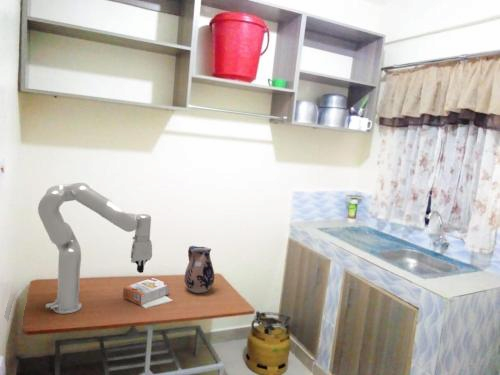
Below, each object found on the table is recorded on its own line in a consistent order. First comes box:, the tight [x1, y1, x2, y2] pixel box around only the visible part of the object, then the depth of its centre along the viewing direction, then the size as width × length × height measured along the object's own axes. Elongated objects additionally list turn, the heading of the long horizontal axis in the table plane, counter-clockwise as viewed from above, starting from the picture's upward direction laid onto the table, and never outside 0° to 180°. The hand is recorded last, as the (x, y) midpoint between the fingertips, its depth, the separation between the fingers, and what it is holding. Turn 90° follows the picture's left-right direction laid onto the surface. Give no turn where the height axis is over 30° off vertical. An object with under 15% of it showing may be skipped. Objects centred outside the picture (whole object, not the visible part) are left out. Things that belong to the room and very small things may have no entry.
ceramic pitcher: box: [184, 245, 215, 294], centre depth 217 cm, size 18×21×25 cm
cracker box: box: [122, 277, 171, 306], centre depth 201 cm, size 14×6×21 cm
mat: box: [140, 295, 173, 310], centre depth 200 cm, size 16×19×1 cm
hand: (140, 271), depth 193 cm, fingers closed
